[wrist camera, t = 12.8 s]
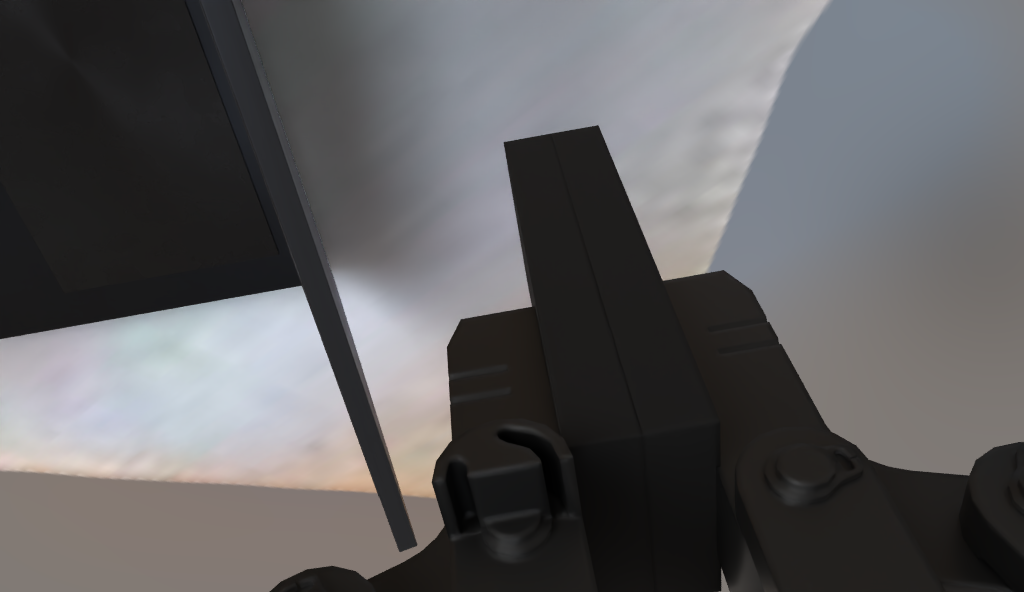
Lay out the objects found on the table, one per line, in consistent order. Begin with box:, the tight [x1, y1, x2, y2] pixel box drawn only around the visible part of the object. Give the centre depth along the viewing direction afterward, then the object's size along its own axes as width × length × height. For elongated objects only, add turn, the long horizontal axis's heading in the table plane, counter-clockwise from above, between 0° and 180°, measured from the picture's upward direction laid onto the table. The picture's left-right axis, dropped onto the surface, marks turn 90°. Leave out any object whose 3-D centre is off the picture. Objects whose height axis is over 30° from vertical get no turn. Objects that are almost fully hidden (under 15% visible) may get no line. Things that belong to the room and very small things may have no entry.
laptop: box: [0, 0, 302, 339], centre depth 45 cm, size 22×32×2 cm
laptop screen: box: [198, 0, 417, 552], centre depth 35 cm, size 22×32×1 cm
